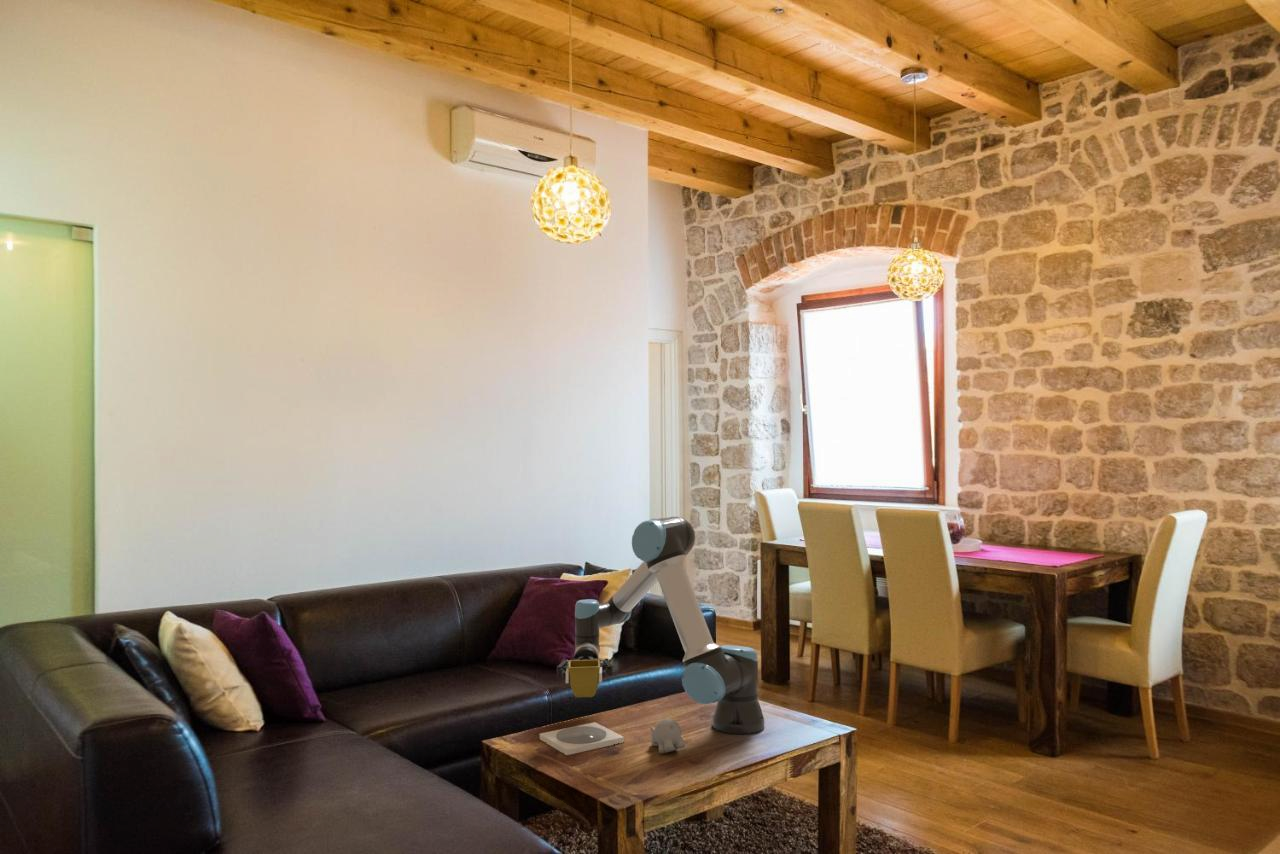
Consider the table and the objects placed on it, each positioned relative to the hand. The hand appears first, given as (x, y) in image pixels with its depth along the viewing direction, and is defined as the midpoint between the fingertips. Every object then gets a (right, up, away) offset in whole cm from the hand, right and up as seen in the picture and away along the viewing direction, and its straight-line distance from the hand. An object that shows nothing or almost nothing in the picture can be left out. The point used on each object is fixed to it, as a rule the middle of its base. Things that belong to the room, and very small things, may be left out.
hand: (583, 678), depth 247 cm
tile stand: (-1, -18, +2) cm, 18 cm away
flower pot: (0, -6, +5) cm, 8 cm away
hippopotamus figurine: (+22, -18, -6) cm, 29 cm away
